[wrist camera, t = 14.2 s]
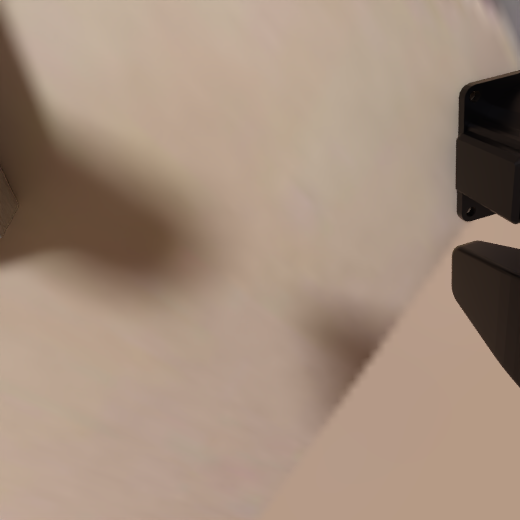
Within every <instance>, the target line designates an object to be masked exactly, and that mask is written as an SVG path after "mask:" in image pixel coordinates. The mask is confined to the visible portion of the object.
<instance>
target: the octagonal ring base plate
mask: <svg viewBox="0 0 520 520" xmlns="http://www.w3.org/2000/svg"><path fill="white" fill-rule="evenodd" d="M18 206H19V204H18V202H17V200H16V198H15V196H14V194H13V191H12V189H11V187H10V185H9V183H8V181H7V179H6V177H5V175H4V173H3V171H2V168H1V166H0V238H2V236H3V234H4V232H5V231H6V229H7V227H8V225H9V223H10V221H11V219H12V218H13V216H14V214H15V212H16V210H17V208H18Z"/></svg>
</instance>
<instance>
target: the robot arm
mask: <svg viewBox="0 0 520 520" xmlns="http://www.w3.org/2000/svg"><path fill="white" fill-rule="evenodd" d="M473 91H475V95H474V98H473V99H472V100H470V94H471V93H472V92H473ZM456 189H457V214H458V216H459V217H460V218H462V219H463V220H465V221H473V220H476V219H480V218H483V217H486V216H490V215H493V214H498V215H500V216H501V217H503V218H505V219H506V220H508V221H510V222H512V223H513V224H518V223H520V70H519V71H515V72H511V73H507V74H503V75H499V76H495V77H491V78H487V79H484V80H480V81H476V82H472V83H469V84H467V85H465V86H464V87H463V88H462V90H461V92H460V95H459V127H458V138H457V140H456ZM470 207H471V210H470V211H469V212H468V213H466V212H467V210H468V209H469V208H470ZM452 291H453V295H454V297H455V299H456V301H457V302H458V304H459V305H460V307H461V308H462V310H463V311H464V312H465V314H466V315H467V317H468V318H469V320H470V321H471V323H472V324H473V326H474V327H475V328H476V330H477V331H478V333H479V334H480V335H481V337H482V339H483V340H484V341H485V343H486V344H487V346H488V347H489V349H490V350H491V352H492V353H493V355H494V356H495V357H496V359H497V360H498V361H499V363H500V364H501V365H502V367H503V368H504V369H505V371H506V372H507V373H508V374H509V375H510V377H511V378H512V379H513V380H514V381H515V383H516V384H517V385H518V386H519V387H520V249H517V248H512V247H507V246H502V245H497V244H493V243H488V242H483V241H473V242H470V243H466V244H463V245H460V246H457V247H456V248H455V249H454V250H453V253H452Z"/></svg>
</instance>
